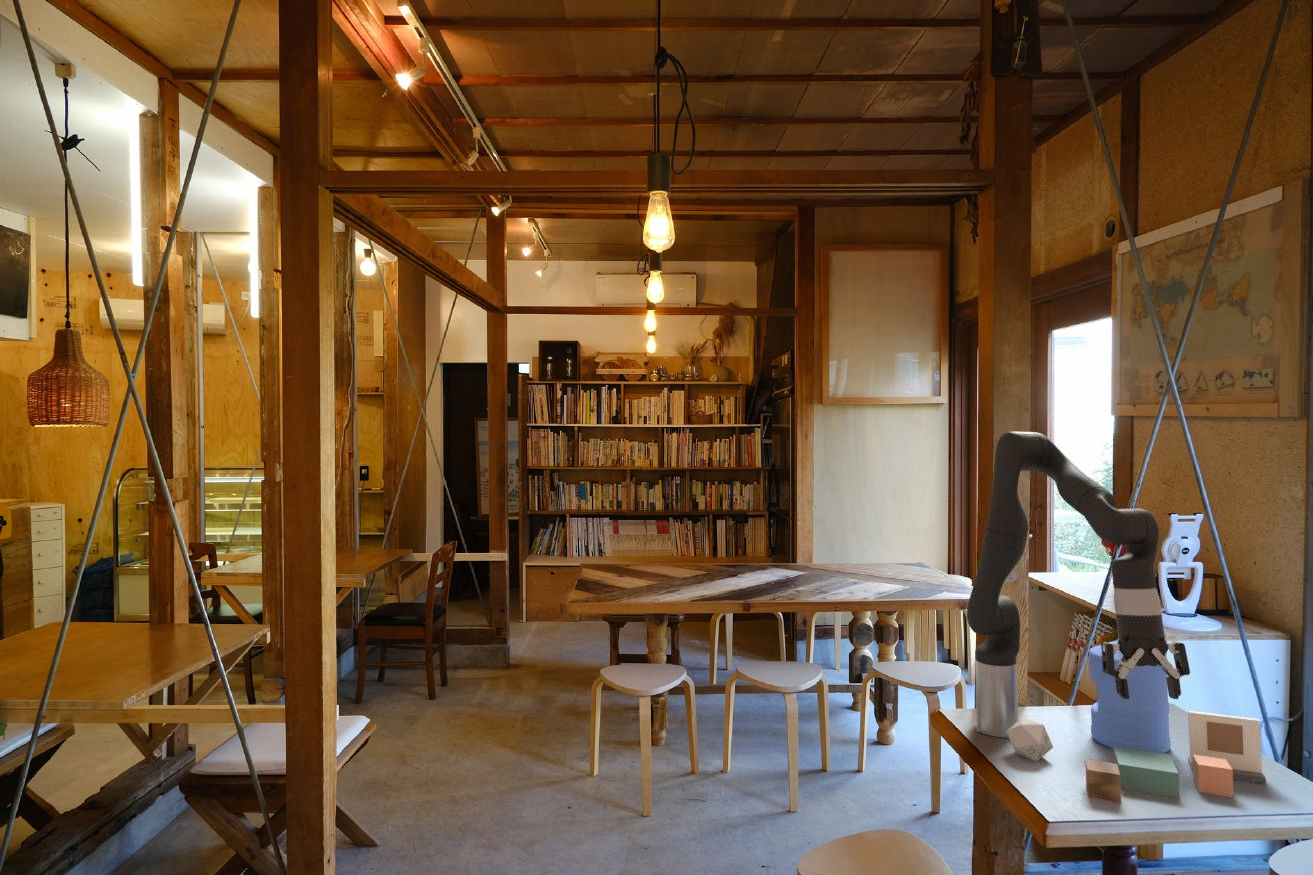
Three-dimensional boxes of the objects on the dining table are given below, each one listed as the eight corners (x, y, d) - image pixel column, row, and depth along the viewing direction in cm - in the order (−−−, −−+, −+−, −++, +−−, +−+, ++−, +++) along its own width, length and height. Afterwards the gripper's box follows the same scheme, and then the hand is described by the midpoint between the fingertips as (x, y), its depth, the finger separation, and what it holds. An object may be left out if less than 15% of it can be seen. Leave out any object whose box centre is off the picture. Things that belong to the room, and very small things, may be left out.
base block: (1119, 788, 146) (1118, 763, 146) (1114, 769, 155) (1113, 746, 155) (1179, 798, 141) (1178, 773, 141) (1170, 778, 150) (1169, 754, 150)
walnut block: (1088, 797, 142) (1087, 769, 142) (1086, 785, 147) (1085, 758, 147) (1121, 803, 139) (1120, 774, 140) (1117, 791, 144) (1116, 763, 144)
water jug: (1186, 749, 163) (1181, 627, 164) (1140, 761, 158) (1135, 634, 158) (1120, 726, 178) (1116, 613, 179) (1076, 736, 172) (1071, 620, 173)
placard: (1193, 772, 152) (1191, 715, 152) (1188, 761, 157) (1186, 707, 157) (1265, 783, 146) (1263, 724, 146) (1257, 772, 151) (1255, 715, 152)
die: (1017, 766, 158) (1046, 736, 155) (992, 734, 165) (1019, 705, 162) (1039, 772, 161) (1068, 743, 158) (1014, 741, 168) (1040, 712, 166)
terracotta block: (1199, 791, 143) (1198, 764, 144) (1193, 780, 148) (1192, 754, 148) (1233, 797, 141) (1232, 769, 141) (1226, 785, 146) (1225, 758, 146)
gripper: (1168, 608, 141) (1179, 694, 138) (1090, 610, 143) (1100, 693, 141) (1189, 613, 133) (1201, 702, 131) (1106, 614, 136) (1117, 702, 134)
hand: (1149, 698), depth 136 cm, fingers open, 8 cm apart
